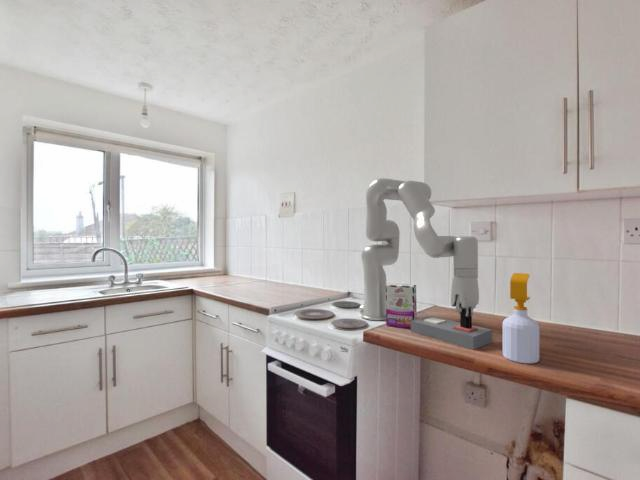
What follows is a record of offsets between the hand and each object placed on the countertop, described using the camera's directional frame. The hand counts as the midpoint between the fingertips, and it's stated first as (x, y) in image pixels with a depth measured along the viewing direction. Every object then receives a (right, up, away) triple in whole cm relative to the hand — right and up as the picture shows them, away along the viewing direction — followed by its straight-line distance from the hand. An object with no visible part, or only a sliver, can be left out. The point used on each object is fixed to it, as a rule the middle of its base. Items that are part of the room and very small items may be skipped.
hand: (466, 327), depth 111 cm
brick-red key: (0, -2, 0) cm, 2 cm away
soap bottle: (+9, -5, -15) cm, 19 cm away
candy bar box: (-17, -5, +19) cm, 26 cm away
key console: (-4, -5, +5) cm, 8 cm away
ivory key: (-7, -2, +10) cm, 12 cm away
